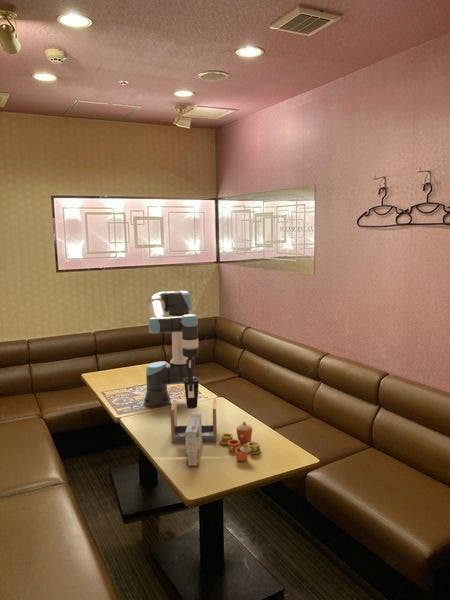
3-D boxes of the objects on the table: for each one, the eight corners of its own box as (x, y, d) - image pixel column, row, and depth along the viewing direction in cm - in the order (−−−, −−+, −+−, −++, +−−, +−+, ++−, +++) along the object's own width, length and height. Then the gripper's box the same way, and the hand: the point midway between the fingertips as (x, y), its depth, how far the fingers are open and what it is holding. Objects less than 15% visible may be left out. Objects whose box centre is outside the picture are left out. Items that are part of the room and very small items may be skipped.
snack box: (190, 444, 222) (189, 413, 220) (203, 444, 222) (202, 413, 220) (185, 466, 201) (184, 431, 199) (199, 466, 201) (198, 431, 199)
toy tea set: (216, 440, 227) (216, 421, 225) (247, 435, 231) (247, 416, 230) (235, 464, 202) (235, 442, 201) (269, 458, 207) (269, 437, 206)
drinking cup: (180, 407, 229) (179, 366, 227) (192, 403, 234) (191, 363, 232) (191, 410, 224) (190, 369, 221) (203, 406, 229) (202, 365, 227)
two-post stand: (174, 431, 238) (173, 400, 236) (216, 430, 238) (216, 399, 236) (171, 442, 224) (170, 409, 222) (216, 441, 224) (215, 408, 222)
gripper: (183, 343, 235) (185, 389, 238) (180, 352, 216) (182, 401, 219) (199, 343, 235) (200, 388, 238) (197, 352, 216) (198, 401, 219)
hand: (191, 394), depth 228 cm, fingers closed on drinking cup, 6 cm apart
